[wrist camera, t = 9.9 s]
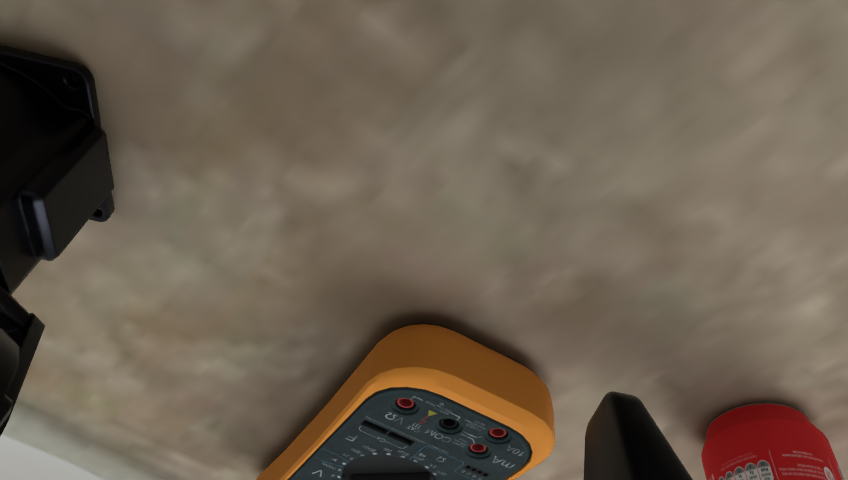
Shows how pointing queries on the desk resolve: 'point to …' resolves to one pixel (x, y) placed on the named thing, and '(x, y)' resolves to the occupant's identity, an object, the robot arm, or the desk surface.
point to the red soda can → (767, 446)
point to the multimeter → (426, 416)
